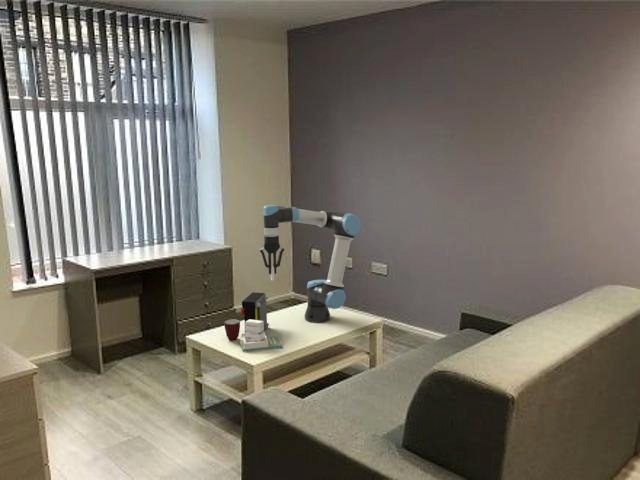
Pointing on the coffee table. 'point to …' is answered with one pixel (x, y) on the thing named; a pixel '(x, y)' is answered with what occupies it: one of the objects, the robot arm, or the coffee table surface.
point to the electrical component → (255, 307)
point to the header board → (260, 343)
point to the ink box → (254, 330)
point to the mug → (232, 329)
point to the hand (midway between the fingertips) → (272, 279)
